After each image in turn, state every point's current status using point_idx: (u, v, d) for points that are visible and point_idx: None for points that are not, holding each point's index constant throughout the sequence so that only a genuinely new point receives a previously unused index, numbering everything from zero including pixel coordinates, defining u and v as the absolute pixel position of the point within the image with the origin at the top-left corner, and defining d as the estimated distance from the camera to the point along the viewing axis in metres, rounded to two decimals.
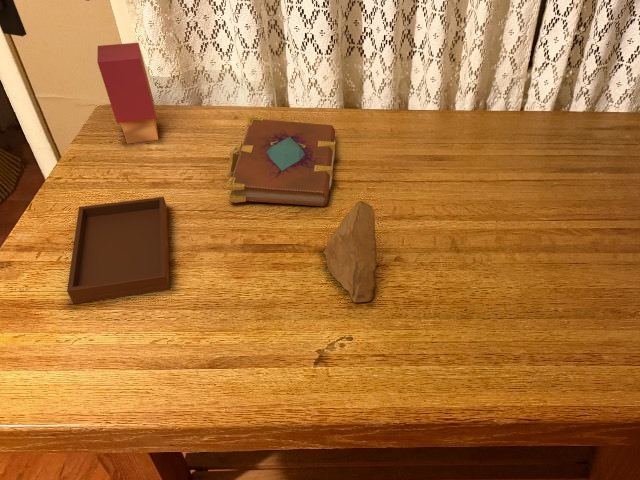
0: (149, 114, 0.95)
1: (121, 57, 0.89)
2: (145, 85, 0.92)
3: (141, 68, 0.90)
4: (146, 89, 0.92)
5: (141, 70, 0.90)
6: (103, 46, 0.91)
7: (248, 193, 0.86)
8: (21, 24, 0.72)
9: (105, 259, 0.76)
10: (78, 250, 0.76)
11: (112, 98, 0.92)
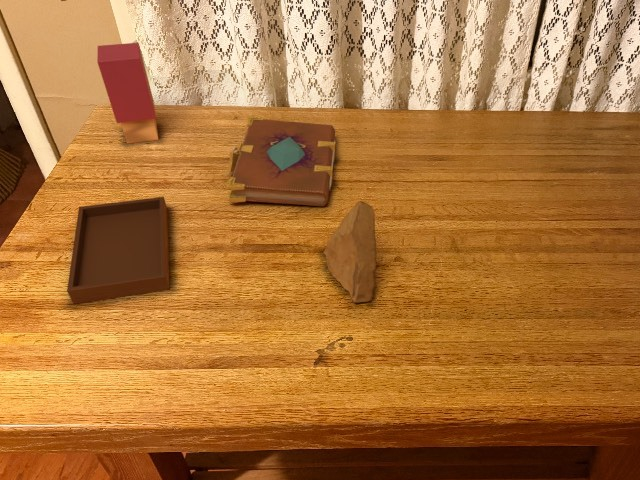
0: (149, 114, 0.95)
1: (121, 57, 0.89)
2: (145, 85, 0.92)
3: (141, 68, 0.90)
4: (146, 89, 0.92)
5: (141, 70, 0.90)
6: (103, 46, 0.91)
7: (248, 193, 0.86)
8: None
9: (105, 259, 0.76)
10: (78, 250, 0.76)
11: (112, 98, 0.92)
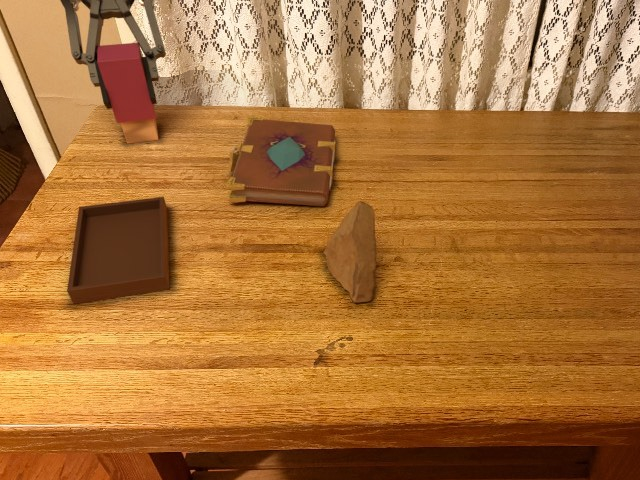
0: (149, 114, 0.95)
1: (121, 57, 0.89)
2: (145, 85, 0.92)
3: (141, 68, 0.90)
4: (146, 89, 0.92)
5: (141, 70, 0.90)
6: (103, 46, 0.91)
7: (248, 193, 0.86)
8: (105, 94, 0.90)
9: (105, 259, 0.76)
10: (78, 250, 0.76)
11: (112, 98, 0.92)
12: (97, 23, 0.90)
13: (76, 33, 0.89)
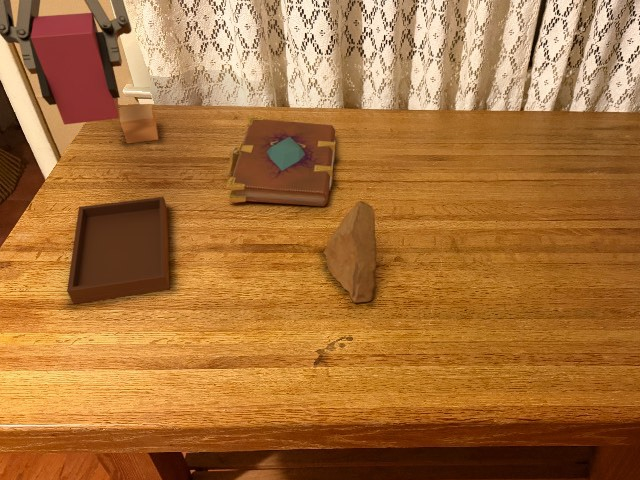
0: (109, 112, 0.69)
1: (65, 31, 0.63)
2: (102, 71, 0.66)
3: (95, 47, 0.64)
4: (103, 77, 0.67)
5: (95, 50, 0.64)
6: (42, 17, 0.65)
7: (248, 193, 0.86)
8: (44, 84, 0.64)
9: (105, 259, 0.76)
10: (78, 250, 0.76)
11: (55, 90, 0.66)
12: None
13: None
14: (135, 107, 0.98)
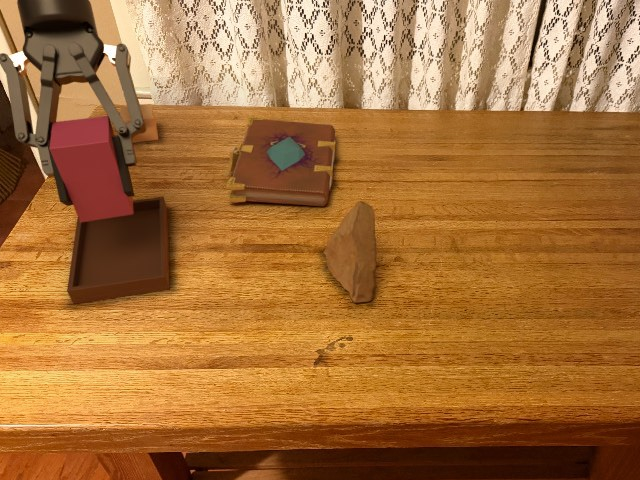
0: (124, 209, 0.71)
1: (82, 140, 0.65)
2: (117, 174, 0.68)
3: (111, 154, 0.66)
4: (119, 179, 0.68)
5: (111, 156, 0.66)
6: (60, 123, 0.67)
7: (248, 193, 0.86)
8: (62, 190, 0.66)
9: (105, 259, 0.76)
10: (78, 250, 0.76)
11: (72, 193, 0.68)
12: (51, 92, 0.66)
13: (22, 107, 0.65)
14: None
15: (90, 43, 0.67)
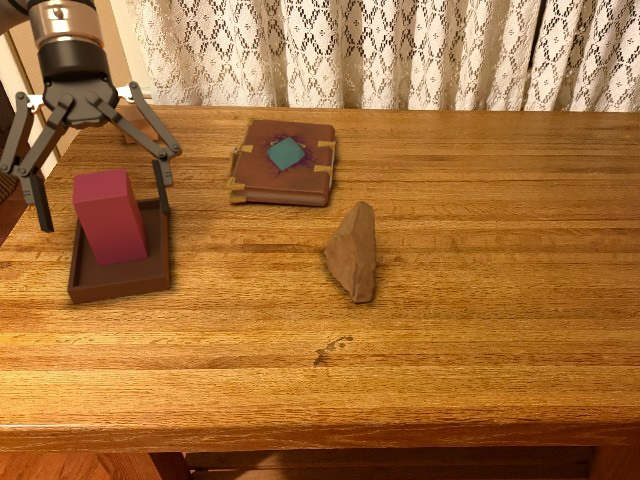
0: (139, 254, 0.76)
1: (103, 194, 0.70)
2: (134, 223, 0.73)
3: (129, 205, 0.71)
4: (135, 228, 0.73)
5: (129, 208, 0.71)
6: (81, 176, 0.72)
7: (248, 193, 0.86)
8: (43, 219, 0.69)
9: None
10: (78, 250, 0.76)
11: (92, 240, 0.73)
12: (52, 134, 0.70)
13: (17, 143, 0.69)
14: (135, 107, 0.98)
15: (105, 91, 0.72)
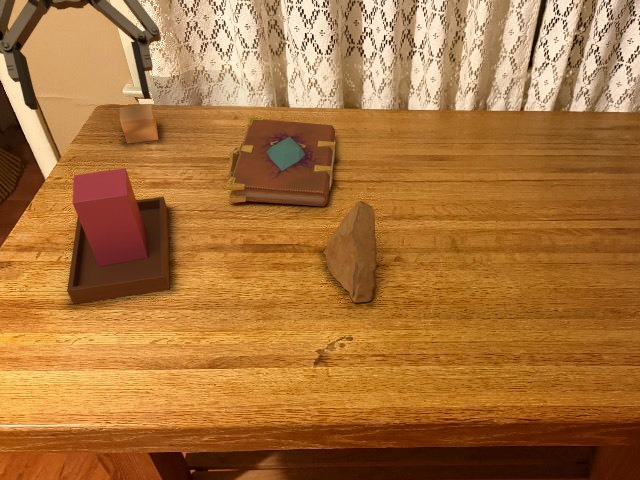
0: (139, 254, 0.76)
1: (103, 194, 0.70)
2: (134, 223, 0.73)
3: (129, 205, 0.71)
4: (135, 228, 0.73)
5: (129, 208, 0.71)
6: (81, 176, 0.72)
7: (248, 193, 0.86)
8: (27, 93, 0.73)
9: None
10: (78, 250, 0.76)
11: (92, 240, 0.73)
12: (34, 11, 0.73)
13: None
14: (135, 107, 0.98)
15: None
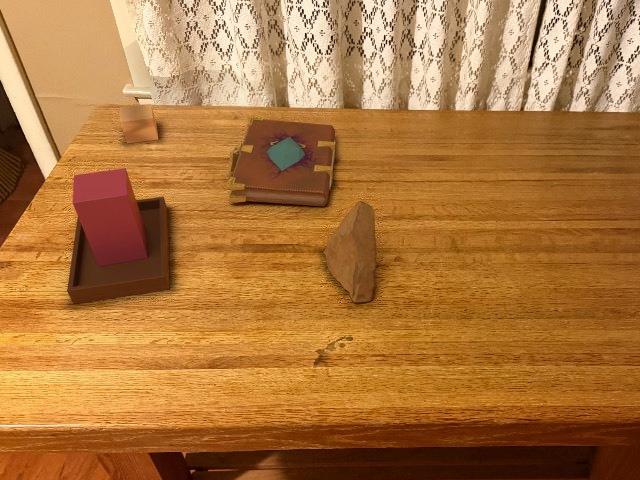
0: (139, 254, 0.76)
1: (103, 194, 0.70)
2: (134, 223, 0.73)
3: (129, 205, 0.71)
4: (135, 228, 0.73)
5: (129, 208, 0.71)
6: (81, 176, 0.72)
7: (248, 193, 0.86)
8: None
9: None
10: (78, 250, 0.76)
11: (92, 240, 0.73)
12: None
13: None
14: (135, 107, 0.98)
15: None
